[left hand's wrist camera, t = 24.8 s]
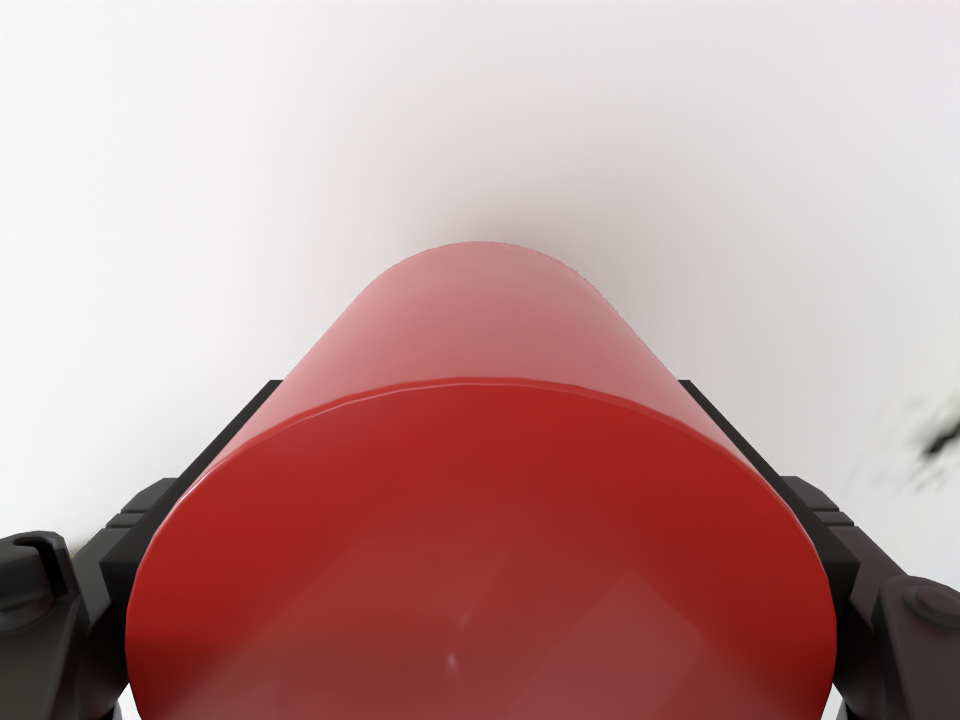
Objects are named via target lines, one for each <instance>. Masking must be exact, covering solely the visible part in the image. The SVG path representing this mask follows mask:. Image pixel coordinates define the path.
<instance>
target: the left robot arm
mask: <svg viewBox="0 0 960 720" xmlns="http://www.w3.org/2000/svg"><path fill="white" fill-rule="evenodd" d="M677 381H678V382H679V383H680V384H681V385H682V386H683V387H684V388H685V390H686V391H687V392H688V393H689V394H690V395H691V396H692V397H693V399H694V400H695V401H696V402H697V403H698V404H699V405H700V406H701V408H702V409H703V410H704V411H705V412H706V413H707V414H708V415H709V417H710V418H711V419H712V420H713V421H714V422H715V423H716V424H717V426H718V427H719V428H720V429H721V430H722V431H723V432H724V433H725V435H726V436H727V437H728V438H729V439H730V440H731V441H732V442H733V444H734V445H735V446H736V447H737V448H738V449H739V450H740V451H741V453H742V454H743V455H744V456H745V457H746V458H747V459H748V460H749V462H750V463H751V464H752V465H753V466H754V467H755V468H756V469H757V471H758V472H759V473H760V474H761V475H762V476H763V477H764V478H765V480H766V481H767V482H768V483H769V484H770V485H771V486H772V487H773V489H774V490H775V491H776V492H777V493H778V494H779V495H780V496H781V498H782V499H783V500H784V501H785V502H786V503H787V504H788V505H789V507H790V508H791V509H792V511H793V512H794V514H795V515H796V517H797V519H798V520H799V522H800V523H801V525H802V526H803V528H804V529H805V531H806V533H807V534H808V536H809V537H810V539H811V540H812V542H813V544H814V546H815V549H816V551H817V554H818V556H819V558H820V561H821V563H822V566H823V568H824V571H825V573H826V575H827V578H828V582H829V586H830V591H831V596H832V601H833V605H834V610H835V615H836V629H837V657H836V663H835V670H834V676H833V684H834V685H835V687H836V688H837V690H838V691H839V693H840V694H841V696H842V697H843V700H842V703H841V706H840V709H839V712H838V715H837V718H836V720H960V592H958V591H956V590H954V589H952V588H950V587H949V586H946V585H943V584H940V583H938V582H935V581H932V580H929V579H926V578H921V577H915V576H909V575H907V574H906V573H905V572H904V571H903V570H902V569H901V568H900V567H899V566H898V565H897V564H896V563H895V562H894V561H893V560H892V559H891V558H890V557H889V556H888V555H887V554H886V553H885V552H884V551H883V550H882V549H881V548H879V547H878V546H877V545H876V544H875V543H874V542H873V541H872V540H871V539H870V538H869V537H868V536H867V535H866V534H865V533H864V532H863V531H862V530H861V529H860V528H859V527H858V526H854V522H853V521H852V520H851V519H850V518H849V517H848V516H847V515H846V514H845V513H844V512H840V511H839V507H837V506H836V505H835V504H834V503H833V502H832V501H831V500H830V499H829V498H828V497H827V496H826V495H825V494H824V493H823V492H822V491H821V490H819V489H817V488H816V487H814V486H812V485H811V484H809V483H807V482H805V481H804V480H802V479H800V478H799V477H797V476H779V475H778V474H777V473H776V472H775V471H774V470H773V468H772V467H771V466H770V465H769V464H768V463H767V462H766V461H765V460H764V459H763V458H762V457H761V456H760V455H759V454H758V453H757V451H756V450H755V449H754V448H753V447H752V446H751V445H750V444H749V443H748V442H747V441H746V440H745V439H744V438H743V437H742V436H741V434H740V433H739V432H738V431H737V430H736V429H735V428H734V427H733V426H732V425H731V424H730V423H729V422H728V421H727V420H726V419H725V417H724V416H723V415H722V414H721V413H720V412H719V411H718V410H717V409H716V408H715V407H714V406H713V405H712V404H711V403H710V401H709V400H708V399H707V398H706V397H705V396H704V395H703V394H702V393H701V392H700V391H699V390H698V389H697V388H696V387H695V386H694V384H693V383H692V382H691V381H690V380H677ZM282 382H283V380H270V381H269V382H268V383H267V384H266V385H265V386H264V387H263V388H262V389H261V390H260V392H259V393H258V394H257V395H256V396H255V397H254V398H253V399H252V400H251V401H250V402H249V403H248V404H247V405H246V406H245V407H244V409H243V410H242V411H241V412H240V413H239V414H238V415H237V416H236V417H235V418H234V419H233V420H232V421H231V422H230V423H229V424H228V426H227V427H226V428H225V429H224V430H223V431H222V432H221V433H220V434H219V435H218V436H217V437H216V438H215V439H214V440H213V441H212V443H211V444H210V445H209V446H208V447H207V448H206V449H205V450H204V451H203V452H202V453H201V454H200V455H199V456H198V457H197V458H196V460H195V461H194V462H193V463H192V464H191V465H190V466H189V467H188V468H187V469H186V470H185V471H184V472H183V473H182V474H181V476H180V477H179V478H163V479H161V480H159V481H158V482H156V483H154V484H153V485H151V486H149V487H148V488H146V489H144V490H142V491H141V492H139V493H138V494H137V495H136V496H135V497H134V498H133V499H132V500H131V501H130V502H129V503H128V504H127V505H126V506H125V507H124V508H123V509H121V513H120V514H116V515H115V516H114V517H113V518H112V519H111V520H110V521H109V522H108V523H107V524H106V528H102V529H101V530H100V531H99V532H98V533H97V534H96V535H95V536H94V537H93V538H92V539H91V540H90V541H89V542H88V543H87V544H86V545H85V546H84V547H83V548H82V549H81V550H80V551H79V552H78V553H77V554H76V555H75V556H74V557H73V558H72V559H71V558H70V555H69V552H68V549H67V546H66V543H65V540H64V538H63V537H62V536H60V535H58V534H57V533H55V532H49V531H32V532H26V533H19V534H15V535H12V536H9V537H6V538H2V539H0V720H122V714H121V709H120V706H119V703H118V698H119V697H120V695H121V694H122V692H123V691H124V689H125V688H126V686H127V685H128V683H129V680H128V672H127V663H126V654H125V631H126V617H127V607H128V603H129V599H130V596H131V592H132V588H133V584H134V580H135V577H136V573H137V569H138V567H139V565H140V563H141V561H142V559H143V556H144V554H145V552H146V550H147V548H148V546H149V544H150V542H151V539H152V537H153V535H154V533H155V532H156V531H157V529H158V528H159V526H160V525H161V523H162V522H163V521H164V519H165V518H166V516H167V515H168V514H169V512H170V511H171V509H172V508H173V507H174V505H175V504H176V502H177V501H178V499H179V498H180V497H181V496H182V495H183V494H184V493H185V492H186V490H187V489H188V488H189V487H190V486H191V485H192V484H193V482H194V481H195V480H196V479H197V478H198V477H199V476H200V475H201V473H202V472H203V471H204V470H205V469H206V468H207V467H208V465H209V464H210V463H211V462H212V461H213V460H214V459H215V458H216V456H217V455H218V454H219V453H220V452H221V451H222V450H223V448H224V447H225V446H226V445H227V444H228V443H229V442H230V440H231V439H232V438H233V437H234V436H235V435H236V434H237V433H238V431H239V430H240V429H241V428H242V427H243V426H244V425H245V423H246V422H247V421H248V420H249V419H250V418H251V417H252V416H253V414H254V413H255V412H256V411H257V410H258V409H259V408H260V406H261V405H262V404H263V403H264V402H265V401H266V400H267V399H268V397H269V396H270V395H271V394H272V393H273V392H274V391H275V389H276V388H277V387H278V386H279V385H280V384H281V383H282Z"/></svg>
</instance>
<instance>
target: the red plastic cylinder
mask: <svg viewBox="0 0 960 720" xmlns="http://www.w3.org/2000/svg"><path fill="white" fill-rule="evenodd" d="M125 654H126V663H127V672H128V680H129V683H130V687H131V690H132V694H133V697H134V700H135V704H136V707H137V711H138V713H139V715H140V717H141V720H821V717H822V714H823V711H824V708H825V706H826V703H827V700H828V697H829V694H830V691H831V688H832V682H833V676H834V670H835V663H836V657H837V629H836V615H835V610H834V605H833V601H832V596H831V591H830V586H829V582H828V578H827V575H826V573H825V571H824V568H823V566H822V563H821V561H820V558H819V556H818V554H817V551H816V549H815V546H814V544H813V542H812V540H811V539H810V537H809V536H808V534H807V533H806V531H805V529H804V528H803V526H802V525H801V523H800V522H799V520H798V519H797V517H796V515H795V514H794V512H793V511H792V509H791V508H790V507H789V505H788V504H787V503H786V502H785V501H784V500H783V499H782V498H781V496H780V495H779V494H778V493H777V492H776V491H775V490H774V489H773V487H772V486H771V485H770V484H769V483H768V482H767V481H766V480H765V478H764V477H763V476H762V475H761V474H760V473H759V472H758V471H757V469H756V468H755V467H754V466H753V465H752V464H751V463H750V462H749V460H748V459H747V458H746V457H745V456H744V455H743V454H742V453H741V451H740V450H739V449H738V448H737V447H736V446H735V445H734V444H733V442H732V441H731V440H730V439H729V438H728V437H727V436H726V435H725V433H724V432H723V431H722V430H721V429H720V428H719V427H718V426H717V424H716V423H715V422H714V421H713V420H712V419H711V418H710V417H709V415H708V414H707V413H706V412H705V411H704V410H703V409H702V408H701V406H700V405H699V404H698V403H697V402H696V401H695V400H694V399H693V397H692V396H691V395H690V394H689V393H688V392H687V391H686V390H685V388H684V387H683V386H682V385H681V384H680V383H679V382H678V381H677V379H676V378H675V377H674V376H673V375H672V374H671V373H670V372H669V370H668V369H667V368H666V367H665V366H664V365H663V364H662V362H661V361H660V360H659V359H658V358H657V357H656V356H655V355H654V353H653V352H652V351H651V350H650V349H649V348H648V347H647V346H646V344H645V343H644V342H643V341H642V340H641V339H640V338H639V337H638V335H637V334H636V333H635V332H634V331H633V330H632V329H631V328H630V326H629V325H628V324H627V323H626V322H625V321H624V320H623V319H622V317H621V316H620V315H619V314H618V313H617V312H616V311H615V310H614V308H613V307H612V306H611V305H610V304H609V303H608V302H607V301H606V299H605V298H604V297H603V296H602V295H601V294H600V293H599V292H598V291H597V290H596V288H595V287H594V286H593V285H592V284H590V283H589V282H588V281H587V280H586V279H584V278H583V277H582V276H581V275H580V274H578V273H577V272H576V271H574V270H573V269H571V268H569V267H568V266H566V265H564V264H563V263H561V262H560V261H558V260H556V259H553V258H551V257H549V256H547V255H544V254H542V253H540V252H537V251H534V250H531V249H527V248H524V247H520V246H517V245H510V244H504V243H497V242H465V243H457V244H449V245H445V246H441V247H437V248H433V249H429V250H426V251H424V252H421V253H419V254H416V255H414V256H411V257H409V258H407V259H405V260H403V261H402V262H400V263H398V264H396V265H395V266H393V267H391V268H389V269H388V270H387V271H385V272H384V273H383V274H381V275H380V276H379V277H377V278H376V279H375V280H374V281H372V282H371V283H370V284H369V285H368V286H367V287H366V288H365V289H364V290H363V291H362V292H361V293H360V294H359V295H358V297H357V298H356V299H355V300H354V301H353V302H352V303H351V304H350V306H349V307H348V308H347V309H346V310H345V311H344V312H343V313H342V315H341V316H340V317H339V318H338V319H337V320H336V321H335V323H334V324H333V325H332V326H331V327H330V328H329V329H328V331H327V332H326V333H325V334H324V335H323V336H322V337H321V338H320V340H319V341H318V342H317V343H316V344H315V345H314V346H313V348H312V349H311V350H310V351H309V352H308V353H307V354H306V355H305V357H304V358H303V359H302V360H301V361H300V362H299V363H298V365H297V366H296V367H295V368H294V369H293V370H292V371H291V372H290V374H289V375H288V376H287V377H286V378H285V379H284V380H283V382H282V383H281V384H280V385H279V386H278V387H277V388H276V389H275V391H274V392H273V393H272V394H271V395H270V396H269V397H268V399H267V400H266V401H265V402H264V403H263V404H262V405H261V406H260V408H259V409H258V410H257V411H256V412H255V413H254V414H253V416H252V417H251V418H250V419H249V420H248V421H247V422H246V423H245V425H244V426H243V427H242V428H241V429H240V430H239V431H238V433H237V434H236V435H235V436H234V437H233V438H232V439H231V440H230V442H229V443H228V444H227V445H226V446H225V447H224V448H223V450H222V451H221V452H220V453H219V454H218V455H217V456H216V458H215V459H214V460H213V461H212V462H211V463H210V464H209V465H208V467H207V468H206V469H205V470H204V471H203V472H202V473H201V475H200V476H199V477H198V478H197V479H196V480H195V481H194V482H193V484H192V485H191V486H190V487H189V488H188V489H187V490H186V492H185V493H184V494H183V495H182V496H181V497H180V498H179V499H178V501H177V502H176V504H175V505H174V507H173V508H172V509H171V511H170V512H169V514H168V515H167V516H166V518H165V519H164V521H163V522H162V523H161V525H160V526H159V528H158V529H157V531H156V532H155V533H154V535H153V537H152V539H151V542H150V544H149V546H148V548H147V550H146V552H145V554H144V556H143V559H142V561H141V563H140V565H139V567H138V569H137V573H136V577H135V580H134V584H133V588H132V592H131V596H130V599H129V603H128V607H127V617H126V631H125Z"/></svg>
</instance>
